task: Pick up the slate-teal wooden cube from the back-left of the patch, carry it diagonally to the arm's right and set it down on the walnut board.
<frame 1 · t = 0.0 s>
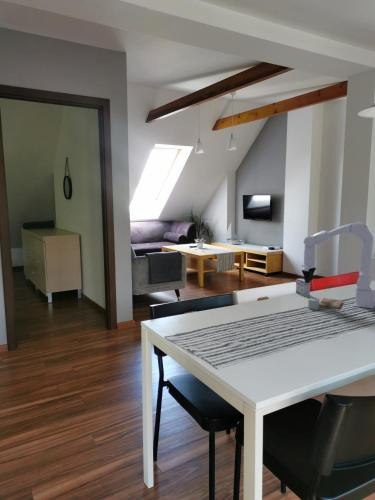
hand: (308, 281, 210), 10 cm above the table, fingers open, 7 cm apart
walnut board: (331, 304, 201), on the table
teal cube: (313, 308, 195), on the table
medicine box: (302, 294, 223), on the table
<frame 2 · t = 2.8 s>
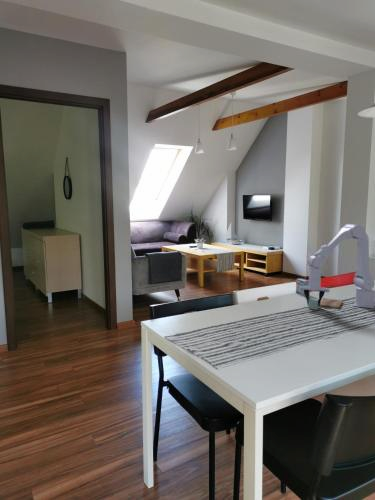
hand: (313, 304, 195), 2 cm above the table, fingers closed on teal cube, 5 cm apart
teal cube: (313, 307, 195), on the table, touching gripper
everything else where it was.
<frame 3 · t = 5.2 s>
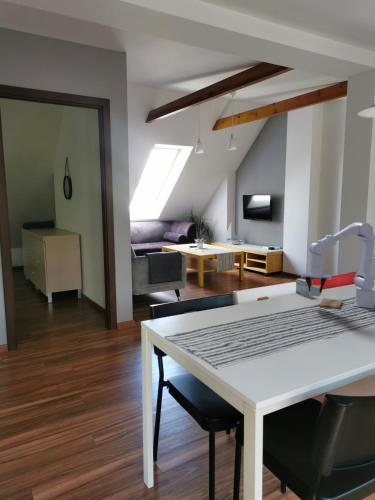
hand: (315, 291, 194), 8 cm above the table, fingers closed on teal cube, 5 cm apart
teal cube: (315, 295, 195), point 7 cm above the table, touching gripper
everything else where it was.
when the fingers open (3 cm above the table, at t = 7.9 s): teal cube stays where it is, resting on walnut board.
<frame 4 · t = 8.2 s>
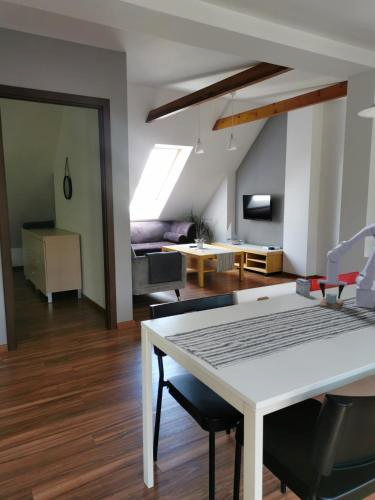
hand: (331, 298, 201), 3 cm above the table, fingers open, 7 cm apart
teal cube: (331, 302, 201), point 1 cm above the table, touching walnut board
everything else where it was.
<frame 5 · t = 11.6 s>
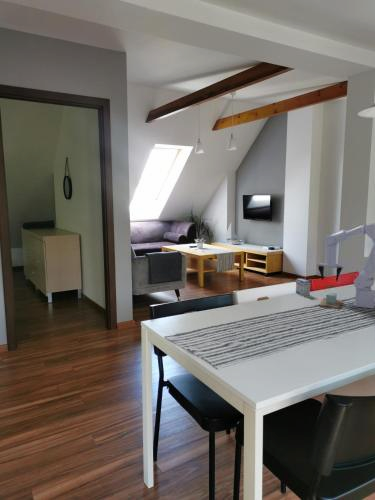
hand: (329, 280, 213), 10 cm above the table, fingers open, 7 cm apart
nothing on the table moved.
at the end: teal cube inside the target area on the walnut board (0.1 cm from its centre), point 1.0 cm above the walnut board's base; teal cube tilted 0°; the gripper is holding nothing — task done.
